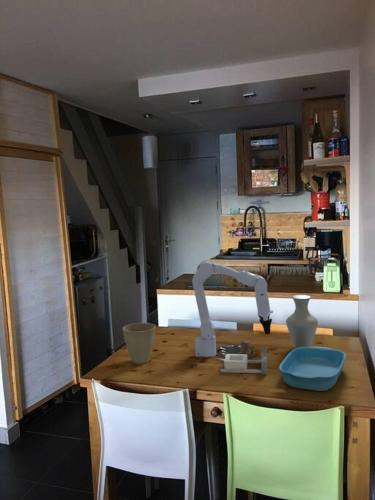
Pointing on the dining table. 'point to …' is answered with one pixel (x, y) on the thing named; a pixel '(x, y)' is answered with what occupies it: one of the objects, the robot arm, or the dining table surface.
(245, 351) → the dowel
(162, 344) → the dining table surface
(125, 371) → the dining table surface
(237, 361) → the sliding block
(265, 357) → the stop wall
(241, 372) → the slide board
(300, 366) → the casserole dish
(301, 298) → the vase
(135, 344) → the plant pot
